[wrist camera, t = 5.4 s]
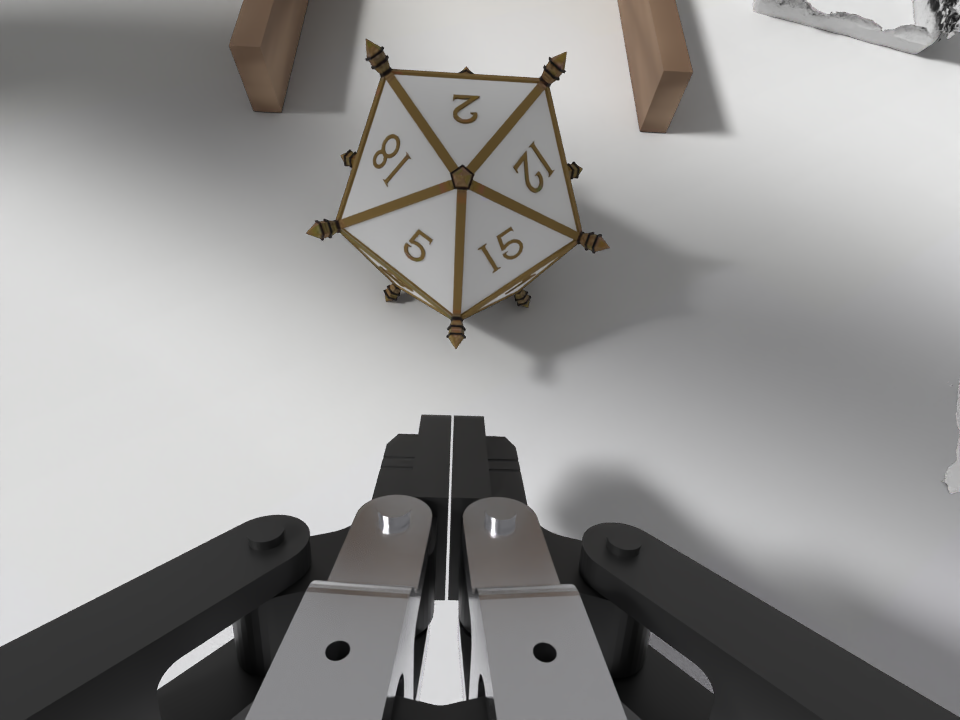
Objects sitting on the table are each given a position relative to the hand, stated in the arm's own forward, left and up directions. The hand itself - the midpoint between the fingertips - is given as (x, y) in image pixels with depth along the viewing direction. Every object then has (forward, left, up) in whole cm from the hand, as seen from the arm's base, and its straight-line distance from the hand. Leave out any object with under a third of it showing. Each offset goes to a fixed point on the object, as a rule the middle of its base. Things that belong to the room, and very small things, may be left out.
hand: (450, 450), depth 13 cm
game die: (0, +8, -4) cm, 9 cm away
